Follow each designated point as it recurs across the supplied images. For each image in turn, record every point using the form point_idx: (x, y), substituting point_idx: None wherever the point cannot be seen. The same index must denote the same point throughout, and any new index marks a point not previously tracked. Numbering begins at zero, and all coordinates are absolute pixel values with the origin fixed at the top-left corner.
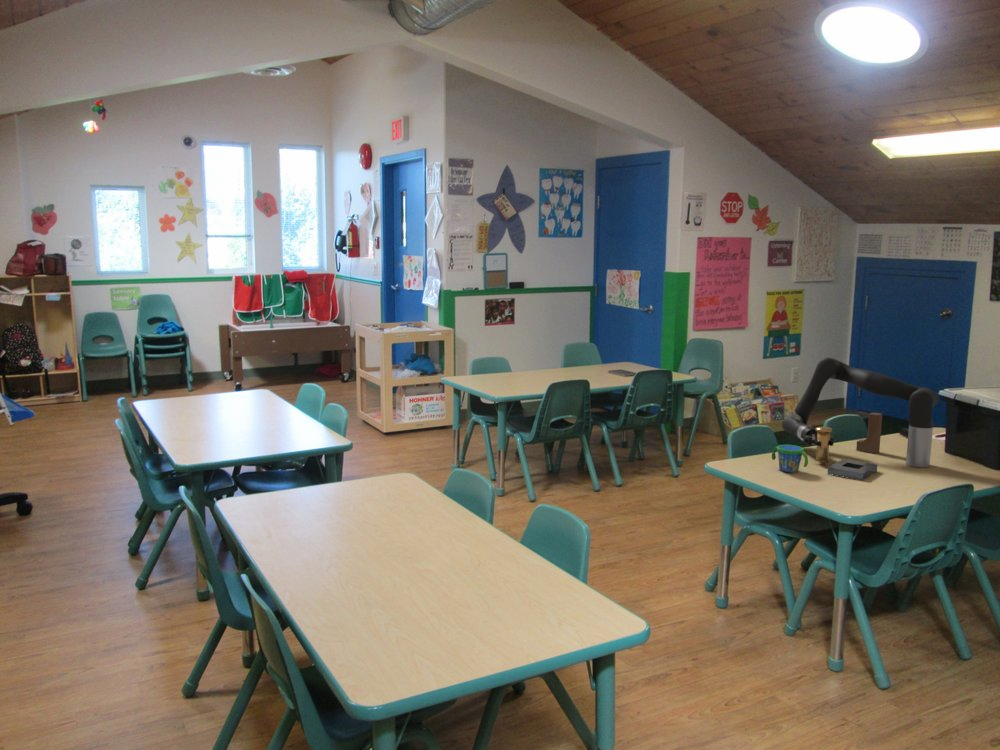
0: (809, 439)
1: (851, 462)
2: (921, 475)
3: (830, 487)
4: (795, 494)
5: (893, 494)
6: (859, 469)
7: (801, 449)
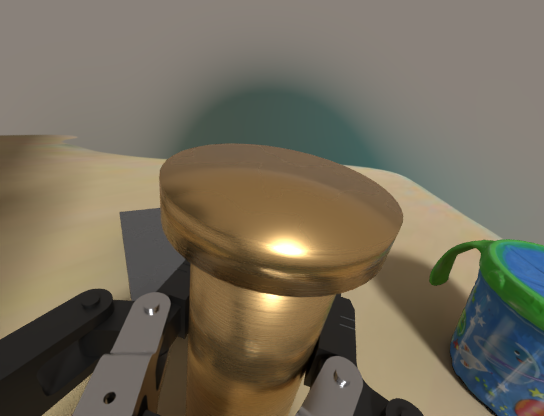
0: (407, 409)
1: (181, 257)
2: (65, 182)
3: None
4: (471, 226)
5: None
6: None
7: (501, 251)
